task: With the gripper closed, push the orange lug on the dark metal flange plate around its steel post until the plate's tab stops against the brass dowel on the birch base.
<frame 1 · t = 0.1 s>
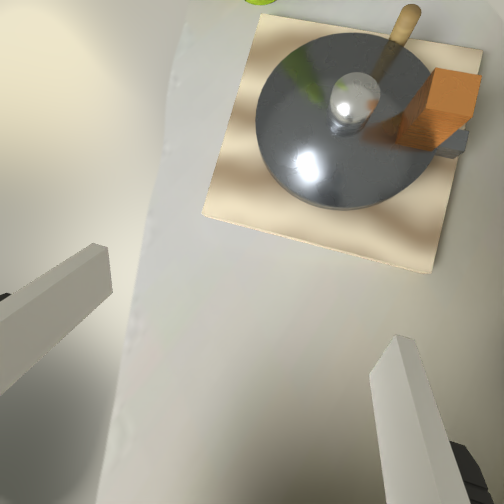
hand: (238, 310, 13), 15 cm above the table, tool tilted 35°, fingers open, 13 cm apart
post base: (336, 140, 29), on the table
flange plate: (364, 106, 23), point 6 cm above the table, hinge at 0.0°
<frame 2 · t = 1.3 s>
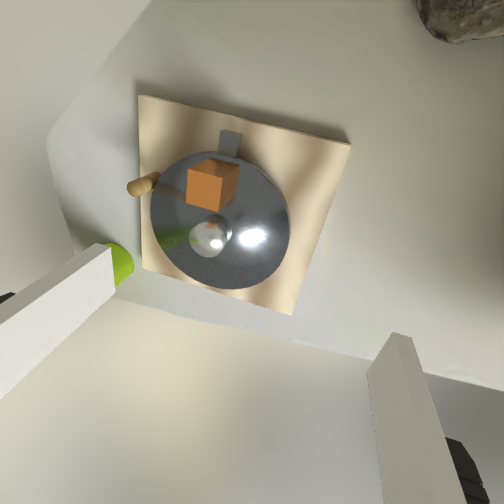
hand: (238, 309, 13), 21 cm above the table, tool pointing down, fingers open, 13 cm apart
post base: (228, 215, 34), on the table
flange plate: (211, 228, 29), point 6 cm above the table, hinge at 0.0°
soap dispenser: (119, 257, 43), on the table
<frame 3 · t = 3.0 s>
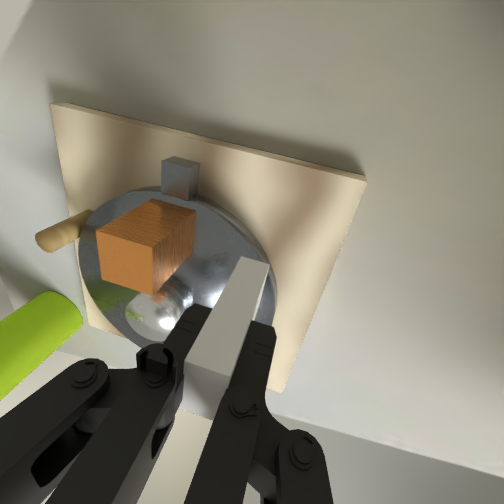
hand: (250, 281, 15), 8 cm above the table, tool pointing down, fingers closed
post base: (194, 265, 25), on the table
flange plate: (158, 299, 19), point 6 cm above the table, hinge at 0.0°
soap dispenser: (63, 308, 33), on the table
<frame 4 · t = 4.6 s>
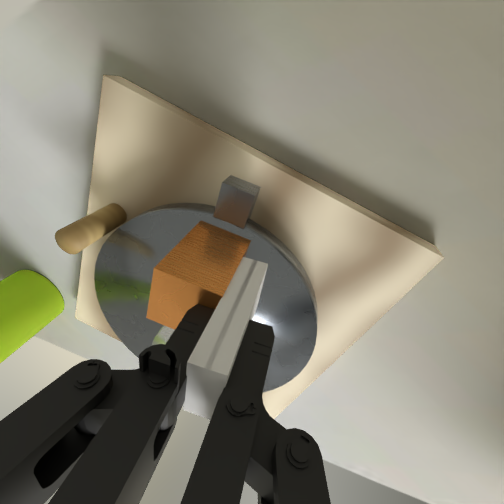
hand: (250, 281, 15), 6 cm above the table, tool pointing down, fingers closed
post base: (218, 284, 23), on the table
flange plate: (191, 329, 17), point 6 cm above the table, hinge at 6.8°, touching gripper
soap dispenser: (43, 290, 29), on the table
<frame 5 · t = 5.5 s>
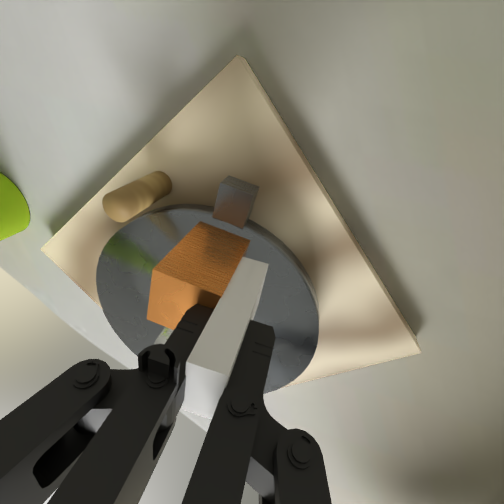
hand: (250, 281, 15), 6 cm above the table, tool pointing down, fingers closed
post base: (220, 285, 23), on the table
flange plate: (192, 330, 17), point 6 cm above the table, hinge at 36.7°, touching gripper
soap dispenser: (6, 200, 24), on the table
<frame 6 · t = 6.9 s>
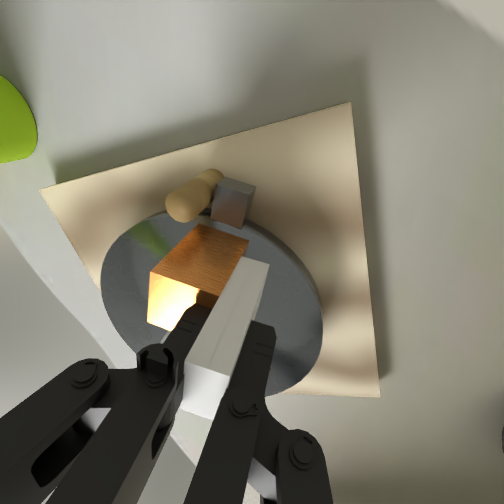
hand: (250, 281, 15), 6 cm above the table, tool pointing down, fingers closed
post base: (223, 287, 23), on the table
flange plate: (195, 332, 17), point 6 cm above the table, hinge at 60.5°, touching gripper
soap dispenser: (10, 119, 20), on the table
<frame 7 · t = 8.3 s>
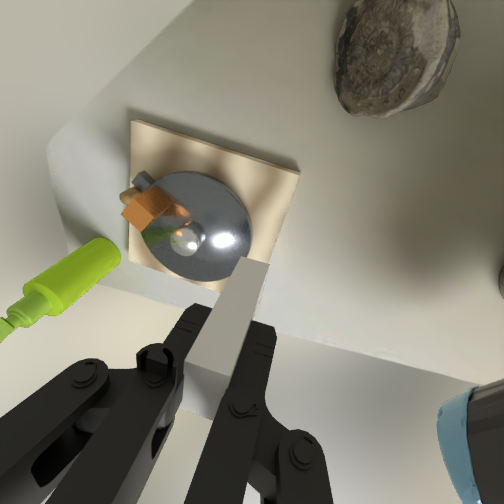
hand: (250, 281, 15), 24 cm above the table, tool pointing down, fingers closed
post base: (204, 220, 41), on the table
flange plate: (181, 233, 36), point 6 cm above the table, hinge at 59.7°
fossil: (384, 56, 28), on the table
soap dispenser: (108, 250, 49), on the table
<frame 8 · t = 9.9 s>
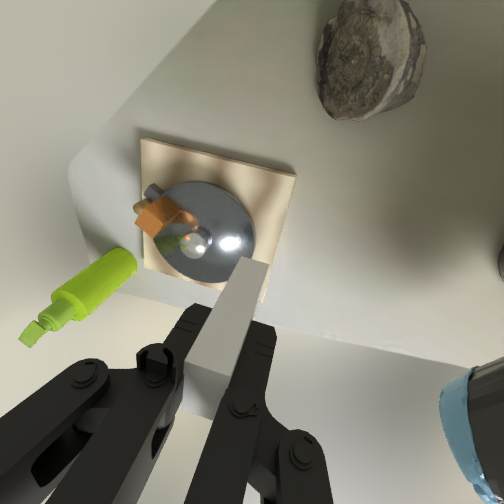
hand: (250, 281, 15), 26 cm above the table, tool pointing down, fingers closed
post base: (211, 226, 44), on the table
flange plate: (190, 238, 39), point 6 cm above the table, hinge at 59.7°
fossil: (361, 64, 31), on the table
soap dispenser: (125, 259, 53), on the table
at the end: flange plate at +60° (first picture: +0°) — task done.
